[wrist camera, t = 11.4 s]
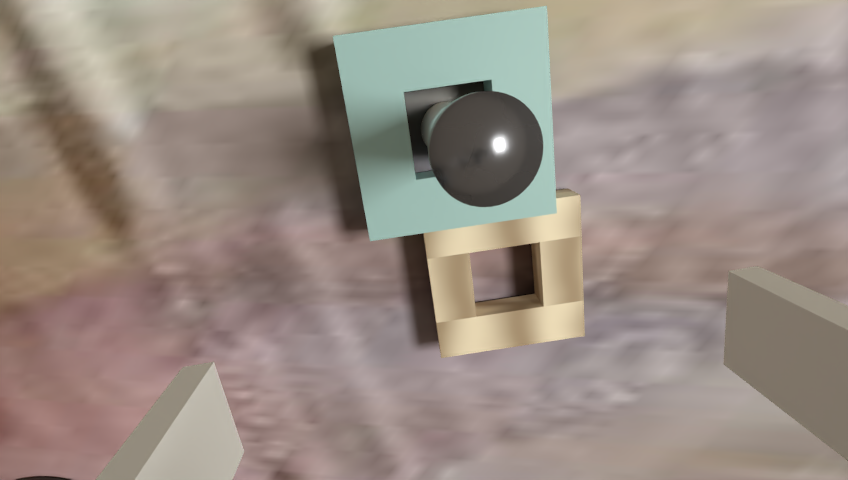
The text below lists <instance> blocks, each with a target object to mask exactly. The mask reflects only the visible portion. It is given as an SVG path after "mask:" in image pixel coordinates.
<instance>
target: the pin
mask: <svg viewBox="0 0 848 480" xmlns="http://www.w3.org/2000/svg"><path fill="white" fill-rule="evenodd" d="M421 135H422V138H423V141H424V143H425V144H426V146H427V147H428V157H429V162H430V165H431V168H432V171H433V173H434V175H435V177H436V179H437V181H438V182H439V184H440V185H441V187H442V188H443V189H444V190H445V191H446V192H447V193H448V194H449V195H450V196H452V197H453V198H455V199H456V200H458V201H460V202H462V203H464V204H467V205H470V206H475V207H493V206H498V205H501V204H504V203H506V202H509V201H511V200H513V199H514V198H516V197H517V196H519V195H520V194H521V193H522V192H523V191H524V190H525V189H526V188H527V187H528V186H529V185H530V184H531V182H532V181H533V180H534V178H535V176H536V174H537V172H538V170H539V168H540V165H541V161H542V156H543V136H542V132H541V128H540V126H539V123H538V121H537V119H536V117H535V115H534V114H533V113H532V111H531V110H530V109H529V108H528V107H527V106H526V105H525V104H524V103H523V102H521V101H520V100H519V99H517V98H515V97H513V96H511V95H508V94H506V93H502V92H496V91H482V92H474V93H469V94H467V95H464V96H461V97H460V98H458V99H456V100H454V101H453V102H452V101H445V102H440V103H437V104H435V105H434V106H432V107H431V108H430V109H429V110H428V111H427V112H426V114H425V115H424V117H423V120H422V123H421Z"/></svg>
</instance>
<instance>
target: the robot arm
mask: <svg viewBox="0 0 848 480" xmlns="http://www.w3.org/2000/svg"><path fill="white" fill-rule="evenodd" d="M724 365H725V366H726V367H728V368H729V369H730V370H732V371H733V372H734V373H735V374H737V375H738V376H739V377H741V378H742V379H743V380H744V381H746V382H747V383H748V384H750V385H751V386H752V387H753V388H755V389H756V390H757V391H759V392H760V393H761V394H762V395H764V396H765V397H766V398H768V399H769V400H770V401H771V402H773V403H774V404H775V405H777V406H778V407H779V408H780V409H782V410H783V411H784V412H786V413H787V414H788V415H789V416H791V417H792V418H793V419H795V420H796V421H797V422H798V423H800V424H801V425H802V426H804V427H805V428H806V429H807V430H809V431H810V432H811V433H813V434H814V435H815V436H816V437H818V438H819V439H820V440H821V441H823V442H824V443H825V444H827V445H828V446H829V447H830V448H832V449H833V450H834V451H836V452H837V453H838V454H839V455H841V456H842V457H843V458H845V459H846V460H847V461H848V306H847V305H845V304H842V303H840V302H838V301H836V300H833V299H831V298H829V297H827V296H824V295H822V294H820V293H818V292H815V291H813V290H811V289H808V288H806V287H804V286H802V285H799V284H797V283H795V282H793V281H790V280H788V279H786V278H784V277H781V276H779V275H777V274H774V273H772V272H770V271H768V270H765V269H763V268H761V267H759V266H755V267H749V268H744V269H738V270H732V271H729V272H728V291H727V310H726V329H725V347H724ZM243 453H244V450H243V447H242V444H241V441H240V438H239V435H238V432H237V429H236V426H235V423H234V420H233V417H232V414H231V411H230V408H229V405H228V402H227V399H226V396H225V393H224V390H223V387H222V385H221V382H220V379H219V376H218V373H217V370H216V367H215V364H214V362H210V363H204V364H199V365H193V366H187V367H183V368H182V369H181V370H180V371H179V373H178V374H177V375H176V377H175V378H174V379H173V381H172V382H171V383H170V384H169V386H168V387H167V388H166V390H165V391H164V392H163V393H162V395H161V396H160V397H159V399H158V400H157V401H156V402H155V404H154V405H153V406H152V408H151V409H150V410H149V412H148V413H147V414H146V415H145V417H144V418H143V419H142V421H141V422H140V423H139V424H138V426H137V427H136V428H135V430H134V431H133V432H132V433H131V435H130V436H129V437H128V439H127V440H126V441H125V442H124V444H123V445H122V446H121V448H120V449H119V450H118V452H117V453H116V454H115V455H114V457H113V458H112V459H111V461H110V462H109V463H108V464H107V466H106V467H105V468H104V470H103V471H102V472H101V473H100V475H99V476H98V477H97V479H96V480H233V478H234V475H235V473H236V470H237V468H238V465H239V463H240V461H241V458H242V456H243ZM21 480H66V479H60V478H50V477H37V478H27V479H21Z"/></svg>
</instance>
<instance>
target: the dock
mask: <svg viewBox="0 0 848 480" xmlns="http://www.w3.org/2000/svg"><path fill="white" fill-rule="evenodd" d="M333 40H334V46H335V51H336V57H337V62H338V68H339V73H340V79H341V84H342V90H343V95H344V101H345V106H346V112H347V117H348V123H349V128H350V134H351V139H352V145H353V150H354V156H355V161H356V167H357V172H358V177H359V183H360V188H361V194H362V199H363V205H364V210H365V216H366V221H367V227H368V232H369V238H370V241H374V240H381V239H388V238H394V237H401V236H408V235H414V234H421V233H428V232H435V231H441V230H448V229H455V228H461V227H468V226H475V225H482V224H488V223H495V222H502V221H508V220H515V219H522V218H529V217H535V216H542V215H549V214H555V213H557V207H556V186H555V165H554V144H553V123H552V103H551V82H550V61H549V40H548V19H547V6H543V7H536V8H529V9H521V10H514V11H507V12H500V13H493V14H486V15H479V16H472V17H465V18H458V19H450V20H443V21H436V22H429V23H422V24H415V25H408V26H401V27H394V28H386V29H379V30H372V31H365V32H358V33H351V34H344V35H337V36H333ZM481 81H483V83H484V91H496V92H502V93H506V94H508V95H511V96H513V97H515V98H517V99H519V100H520V101H521V102H523V103H524V104H525V105H526V106H527V107H528V108H529V109H530V110H531V111H532V113H533V114H534V115H535V117H536V119H537V121H538V123H539V126H540V128H541V132H542V136H543V156H542V161H541V165H540V168H539V170H538V172H537V174H536V176H535V178H534V180H533V181H532V182H531V184H530V185H529V186H528V187H527V188H526V189H525V190H524V191H523V192H522V193H521V194H520V195H519V196H517V197H516V198H514V199H513V200H511V201H509V202H506V203H504V204H501V205H498V206H493V207H475V206H470V205H467V204H464V203H462V202H460V201H458V200H456V199H455V198H453V197H452V196H450V195H449V194H448V193H447V192H446V191H445V190H444V189H443V188H442V187H441V185H440V184H439V182H438V181H437V179H436V177H435V175H434V173H433V171H426V172H420V173H415V169H414V162H413V155H412V148H411V141H410V134H409V127H408V120H407V113H406V106H405V99H404V92H411V91H418V90H425V89H432V88H439V87H446V86H453V85H460V84H467V83H474V82H481Z"/></svg>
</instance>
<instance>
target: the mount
mask: <svg viewBox="0 0 848 480" xmlns="http://www.w3.org/2000/svg"><path fill="white" fill-rule="evenodd" d="M556 207H557V213H555V214H549V215H542V216H535V217H529V218H522V219H515V220H508V221H502V222H495V223H488V224H482V225H475V226H468V227H461V228H455V229H448V230H441V231H435V232H428V233H423V237H424V244H425V251H426V258H427V265H428V272H429V279H430V286H431V293H432V300H433V306H434V313H435V320H436V327H437V334H438V341H439V347H440V353H441V358H444V357H451V356H457V355H464V354H470V353H477V352H483V351H490V350H496V349H503V348H509V347H516V346H522V345H529V344H535V343H542V342H548V341H555V340H561V339H568V338H574V337H581V336H585V333H584V301H583V269H582V236H581V204H580V195H579V194H578V193H576V192H574V191H572V190H570V189H562V190H556ZM525 244H531V246H532V261H533V276H534V291H535V294H530V295H523V296H517V297H510V298H504V299H497V300H490V301H484V302H477V303H475V300H474V291H473V282H472V273H471V264H470V255H469V253H472V252H478V251H485V250H492V249H498V248H505V247H512V246H518V245H525Z"/></svg>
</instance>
